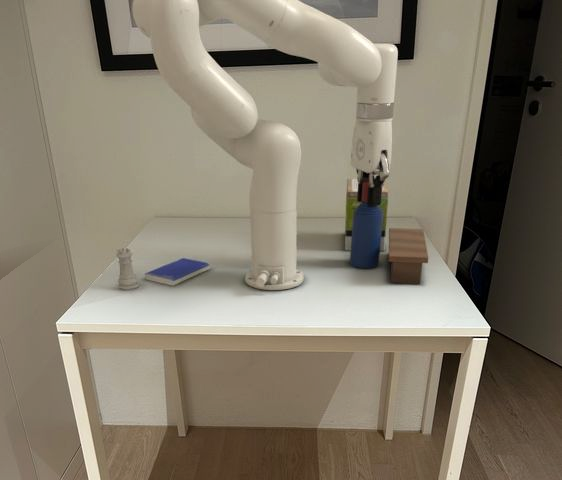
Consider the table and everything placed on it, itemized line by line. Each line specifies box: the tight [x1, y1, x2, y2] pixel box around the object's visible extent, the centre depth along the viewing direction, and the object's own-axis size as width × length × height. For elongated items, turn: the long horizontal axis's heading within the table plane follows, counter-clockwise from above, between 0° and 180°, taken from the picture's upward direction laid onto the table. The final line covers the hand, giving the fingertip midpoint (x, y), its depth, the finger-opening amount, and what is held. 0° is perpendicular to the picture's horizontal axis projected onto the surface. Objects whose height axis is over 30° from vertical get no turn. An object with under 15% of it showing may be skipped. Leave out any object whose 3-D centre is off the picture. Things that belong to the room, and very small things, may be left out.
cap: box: [362, 182, 370, 202], centre depth 127 cm, size 4×4×4 cm
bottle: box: [349, 201, 383, 269], centre depth 131 cm, size 7×7×18 cm
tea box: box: [344, 178, 389, 252], centre depth 146 cm, size 15×10×15 cm, turn 175°
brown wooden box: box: [388, 227, 429, 285], centre depth 131 cm, size 22×8×6 cm, turn 171°
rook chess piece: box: [115, 247, 140, 291], centre depth 121 cm, size 4×4×8 cm
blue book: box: [144, 257, 211, 287], centre depth 129 cm, size 2×8×12 cm
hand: (368, 202), depth 128 cm, fingers closed on cap, 3 cm apart
